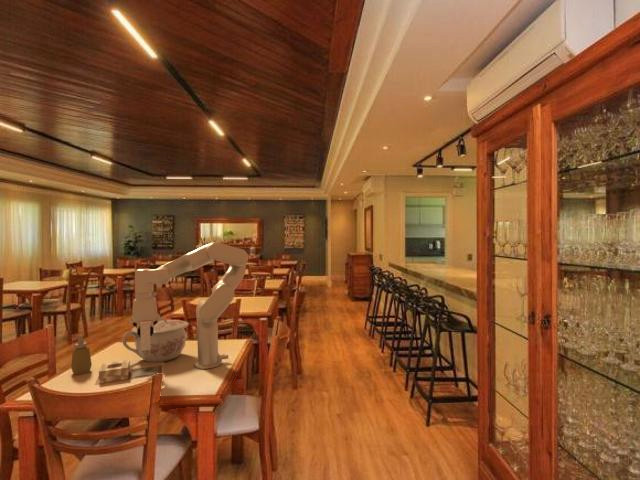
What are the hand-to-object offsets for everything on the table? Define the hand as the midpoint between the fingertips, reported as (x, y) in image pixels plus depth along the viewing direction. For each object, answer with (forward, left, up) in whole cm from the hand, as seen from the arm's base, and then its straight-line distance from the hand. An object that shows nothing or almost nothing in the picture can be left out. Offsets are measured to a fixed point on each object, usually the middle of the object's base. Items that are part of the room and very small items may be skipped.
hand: (145, 335), depth 173 cm
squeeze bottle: (+28, -14, -18) cm, 36 cm away
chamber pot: (-6, -22, -18) cm, 29 cm away
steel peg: (0, 0, -6) cm, 6 cm away
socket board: (+7, 0, -18) cm, 19 cm away
